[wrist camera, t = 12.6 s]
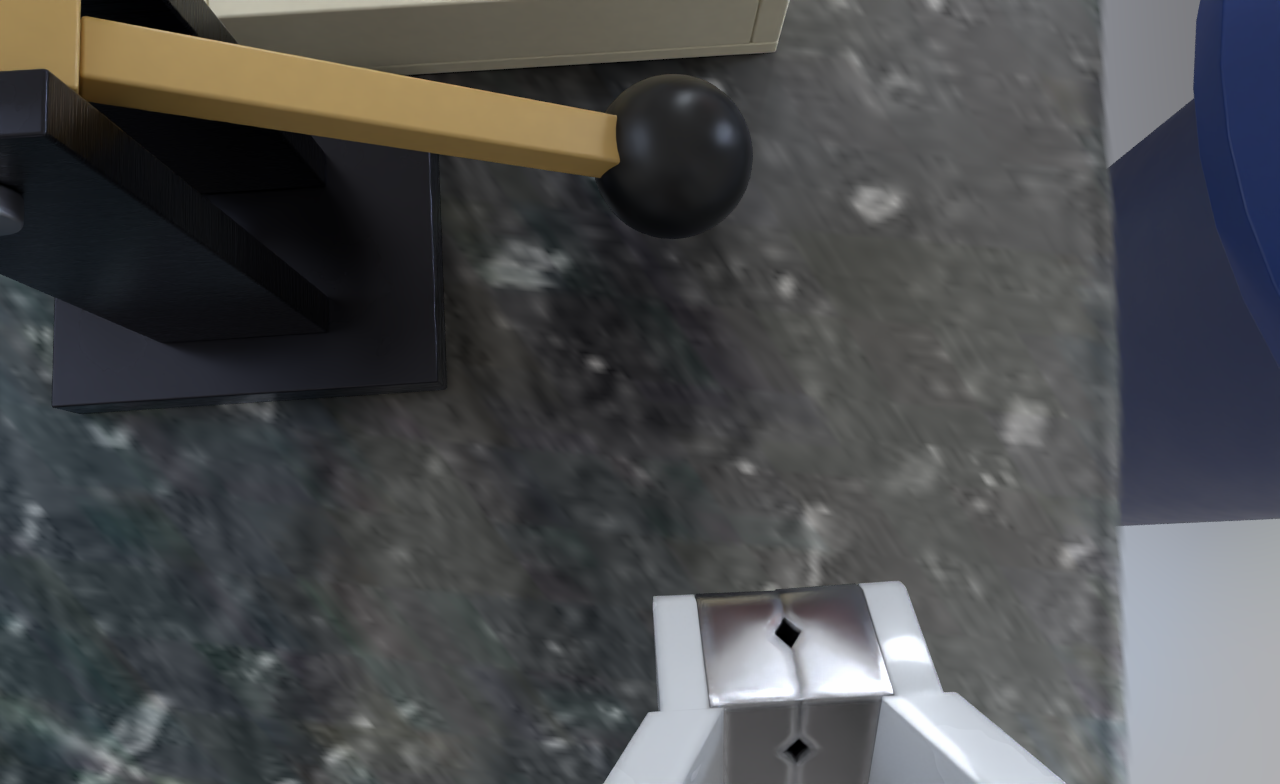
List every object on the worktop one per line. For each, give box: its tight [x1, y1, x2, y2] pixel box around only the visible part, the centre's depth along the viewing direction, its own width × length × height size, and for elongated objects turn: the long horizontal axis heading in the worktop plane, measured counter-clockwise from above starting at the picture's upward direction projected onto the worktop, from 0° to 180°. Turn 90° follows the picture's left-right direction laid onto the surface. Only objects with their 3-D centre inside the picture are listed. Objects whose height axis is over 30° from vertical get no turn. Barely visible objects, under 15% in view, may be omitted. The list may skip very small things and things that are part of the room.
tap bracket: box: [0, 0, 447, 414], centre depth 21 cm, size 10×8×14 cm
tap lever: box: [0, 0, 753, 239], centre depth 19 cm, size 16×4×4 cm, turn 94°
